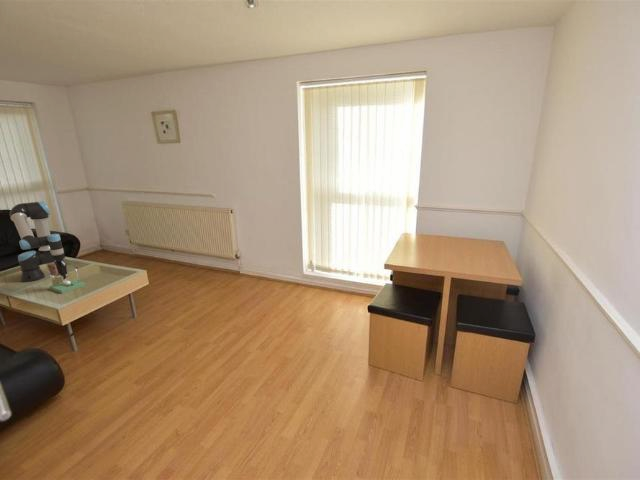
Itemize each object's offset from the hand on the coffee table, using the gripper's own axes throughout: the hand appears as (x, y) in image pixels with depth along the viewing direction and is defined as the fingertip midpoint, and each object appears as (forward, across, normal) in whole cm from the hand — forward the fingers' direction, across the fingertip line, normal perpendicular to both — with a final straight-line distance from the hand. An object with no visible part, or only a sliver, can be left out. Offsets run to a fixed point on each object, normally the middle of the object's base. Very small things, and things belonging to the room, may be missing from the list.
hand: (65, 282), depth 246 cm
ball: (0, +4, 0) cm, 4 cm away
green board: (+4, +2, 0) cm, 5 cm away
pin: (+2, +8, +7) cm, 10 cm away
